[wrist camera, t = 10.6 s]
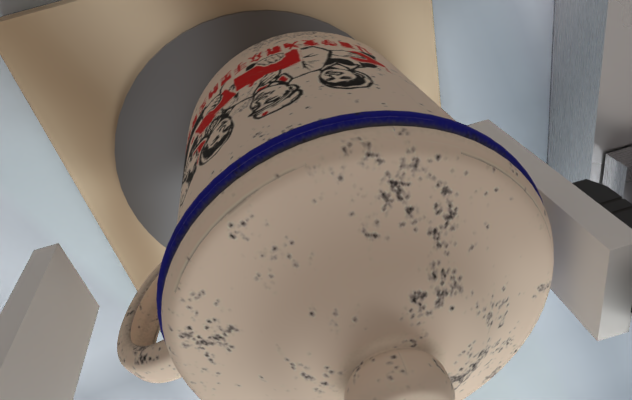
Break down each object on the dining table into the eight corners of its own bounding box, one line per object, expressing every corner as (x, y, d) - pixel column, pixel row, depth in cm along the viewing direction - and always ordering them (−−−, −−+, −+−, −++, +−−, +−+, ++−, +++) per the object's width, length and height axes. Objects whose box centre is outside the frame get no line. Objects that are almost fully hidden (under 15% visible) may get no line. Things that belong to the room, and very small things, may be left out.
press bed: (164, 310, 24) (161, 338, 22) (2, 16, 16) (-21, 27, 15) (440, 230, 24) (455, 252, 22) (407, -93, 16) (427, -93, 15)
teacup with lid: (353, -37, 15) (596, 64, 6) (454, 171, 20) (681, 424, 10) (58, 161, 17) (-156, 508, 7) (216, 310, 22) (216, 643, 12)
